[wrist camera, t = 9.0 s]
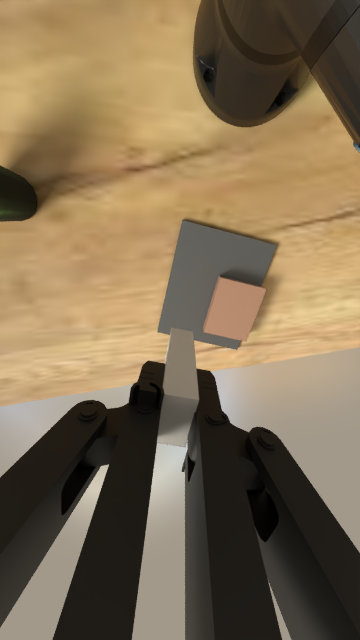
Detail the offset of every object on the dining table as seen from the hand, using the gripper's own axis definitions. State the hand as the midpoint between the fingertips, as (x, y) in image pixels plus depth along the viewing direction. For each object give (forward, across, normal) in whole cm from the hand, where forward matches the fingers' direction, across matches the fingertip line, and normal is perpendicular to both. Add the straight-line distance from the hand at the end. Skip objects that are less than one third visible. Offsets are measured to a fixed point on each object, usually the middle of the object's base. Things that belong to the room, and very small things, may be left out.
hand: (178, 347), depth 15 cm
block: (+23, +6, -3) cm, 24 cm away
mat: (+25, +6, -1) cm, 26 cm away
